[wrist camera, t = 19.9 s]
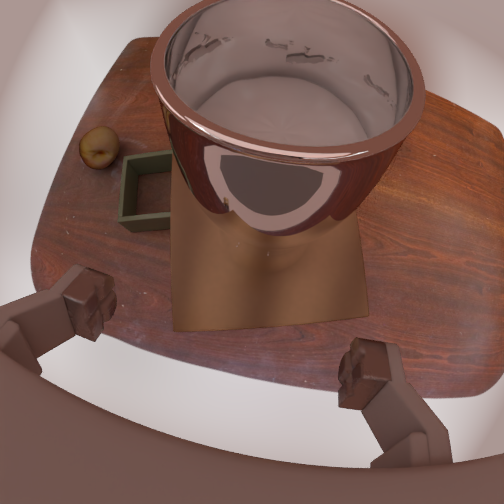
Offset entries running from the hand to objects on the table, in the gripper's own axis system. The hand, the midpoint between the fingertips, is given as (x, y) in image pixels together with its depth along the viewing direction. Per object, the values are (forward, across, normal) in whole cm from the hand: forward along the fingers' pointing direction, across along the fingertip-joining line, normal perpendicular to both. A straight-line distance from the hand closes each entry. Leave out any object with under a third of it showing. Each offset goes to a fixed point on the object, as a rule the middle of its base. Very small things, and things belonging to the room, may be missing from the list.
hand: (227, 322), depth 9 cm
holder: (+38, +19, +15) cm, 45 cm away
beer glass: (+12, 0, +3) cm, 12 cm away
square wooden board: (+12, 0, +3) cm, 13 cm away
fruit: (+42, +33, +11) cm, 55 cm away
